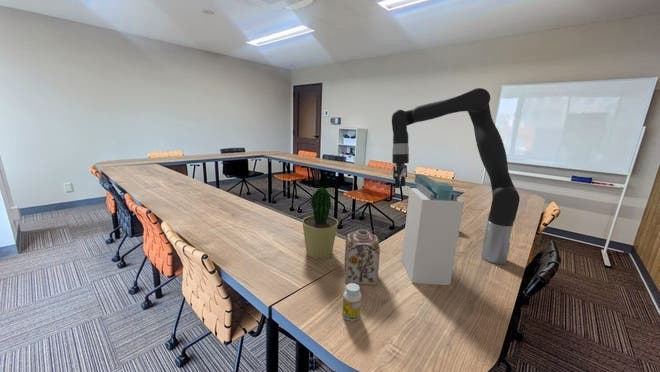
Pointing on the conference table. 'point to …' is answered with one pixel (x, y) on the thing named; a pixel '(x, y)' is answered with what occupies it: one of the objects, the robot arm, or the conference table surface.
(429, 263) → the tall white pedestal box
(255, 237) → the conference table surface
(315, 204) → the potted cactus
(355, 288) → the supplement bottle
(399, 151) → the robot arm
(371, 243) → the decorative jar
